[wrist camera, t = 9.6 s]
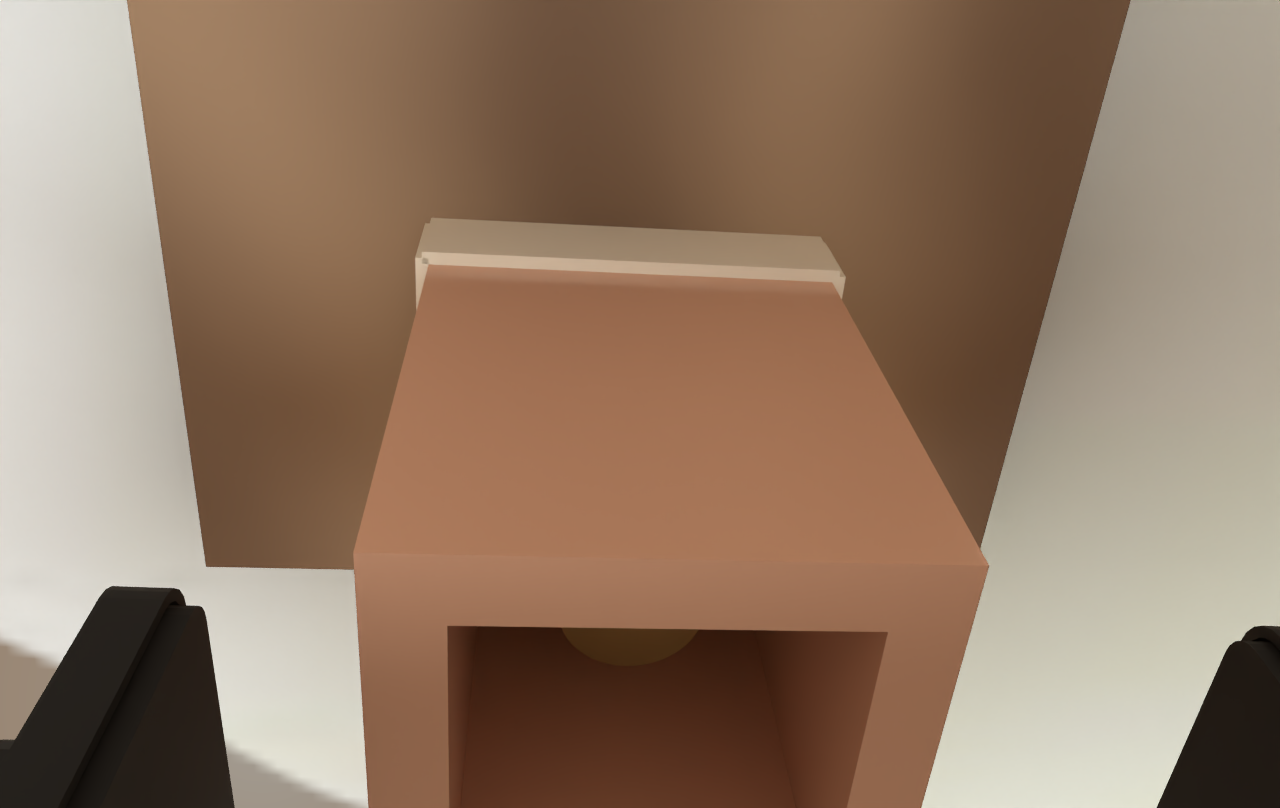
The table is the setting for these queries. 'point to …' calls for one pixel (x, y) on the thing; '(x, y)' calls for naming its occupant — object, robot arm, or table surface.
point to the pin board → (592, 203)
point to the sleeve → (651, 533)
